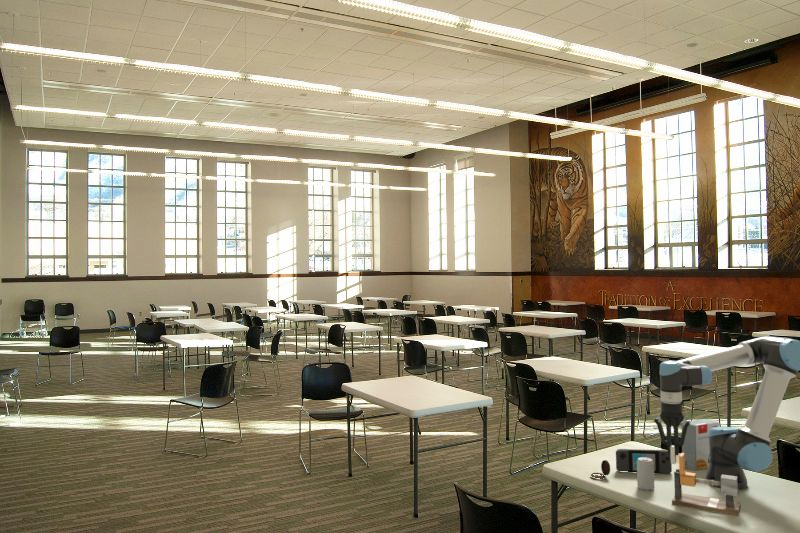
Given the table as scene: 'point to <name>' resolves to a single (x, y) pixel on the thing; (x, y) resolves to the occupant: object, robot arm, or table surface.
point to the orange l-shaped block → (685, 473)
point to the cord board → (709, 504)
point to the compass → (603, 470)
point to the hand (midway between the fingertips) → (673, 463)
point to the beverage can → (645, 473)
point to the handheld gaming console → (629, 457)
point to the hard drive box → (698, 443)
